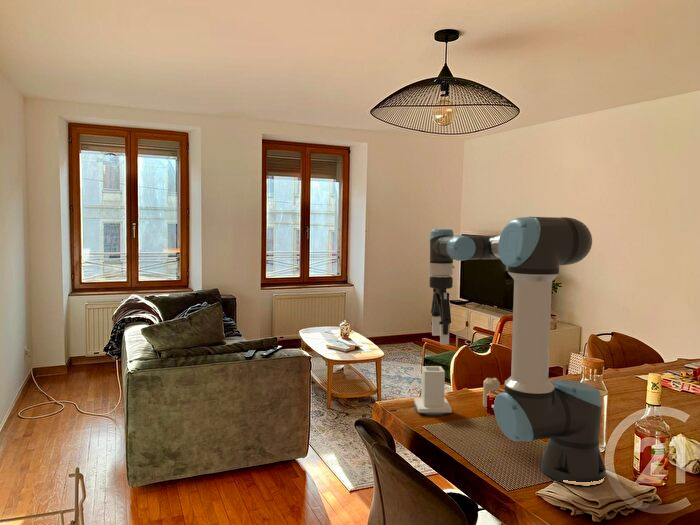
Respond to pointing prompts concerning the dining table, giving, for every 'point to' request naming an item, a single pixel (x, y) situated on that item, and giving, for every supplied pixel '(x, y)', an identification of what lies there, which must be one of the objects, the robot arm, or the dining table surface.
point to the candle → (489, 388)
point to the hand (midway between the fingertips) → (440, 339)
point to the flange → (432, 391)
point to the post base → (430, 413)
